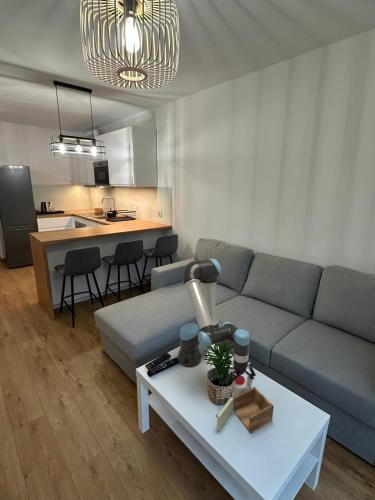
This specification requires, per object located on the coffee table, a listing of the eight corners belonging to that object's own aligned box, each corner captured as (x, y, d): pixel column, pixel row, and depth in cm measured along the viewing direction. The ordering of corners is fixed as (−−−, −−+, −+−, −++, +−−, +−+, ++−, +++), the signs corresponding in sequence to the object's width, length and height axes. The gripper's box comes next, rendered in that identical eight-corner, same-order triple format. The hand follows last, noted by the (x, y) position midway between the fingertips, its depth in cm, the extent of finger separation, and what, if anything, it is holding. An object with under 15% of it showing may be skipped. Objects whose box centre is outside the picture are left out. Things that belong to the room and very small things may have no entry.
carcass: (233, 411, 131) (233, 396, 129) (253, 400, 137) (255, 386, 134) (250, 433, 120) (251, 417, 117) (272, 420, 126) (273, 405, 123)
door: (228, 409, 132) (229, 395, 130) (232, 411, 131) (233, 397, 128) (214, 428, 122) (215, 414, 119) (219, 431, 120) (219, 417, 118)
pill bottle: (235, 387, 146) (236, 371, 142) (248, 394, 141) (249, 377, 138) (228, 396, 140) (229, 379, 137) (241, 403, 135) (242, 386, 132)
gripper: (224, 371, 125) (223, 406, 131) (264, 355, 136) (261, 388, 142) (216, 362, 131) (215, 396, 137) (254, 347, 142) (252, 379, 148)
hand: (238, 392), depth 140 cm, fingers open, 13 cm apart
